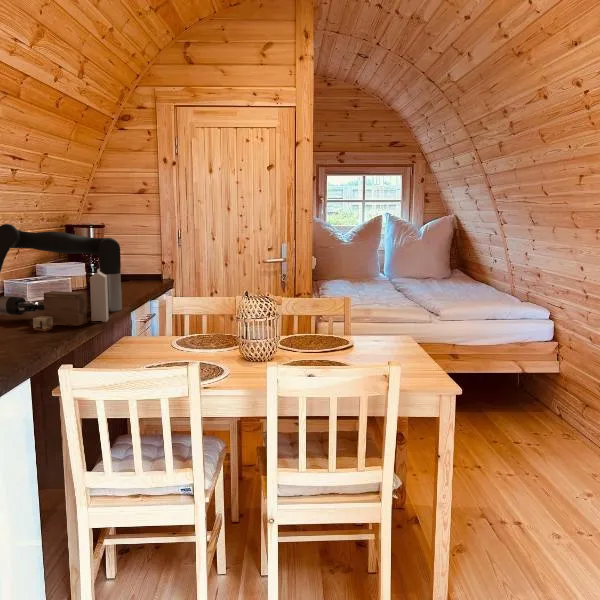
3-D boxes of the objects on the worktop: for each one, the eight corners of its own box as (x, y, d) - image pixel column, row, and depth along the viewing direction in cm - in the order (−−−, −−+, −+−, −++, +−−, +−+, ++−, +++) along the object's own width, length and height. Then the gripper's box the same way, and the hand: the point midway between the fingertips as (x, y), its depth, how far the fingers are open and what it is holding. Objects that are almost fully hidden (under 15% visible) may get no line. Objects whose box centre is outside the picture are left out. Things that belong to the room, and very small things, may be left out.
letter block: (41, 328, 233) (40, 316, 232) (53, 329, 232) (52, 316, 231) (33, 331, 228) (32, 318, 227) (44, 332, 227) (44, 319, 226)
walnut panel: (53, 322, 245) (52, 290, 243) (86, 324, 243) (85, 292, 241) (44, 324, 240) (43, 293, 237) (78, 327, 237) (77, 294, 235)
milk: (108, 319, 254) (107, 268, 250) (106, 322, 248) (105, 269, 244) (93, 319, 253) (92, 267, 249) (91, 322, 247) (89, 269, 243)
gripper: (-1, 298, 238) (38, 301, 235) (21, 294, 251) (58, 296, 247) (0, 317, 239) (39, 319, 236) (22, 311, 252) (58, 313, 249)
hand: (48, 307), depth 242 cm, fingers closed
